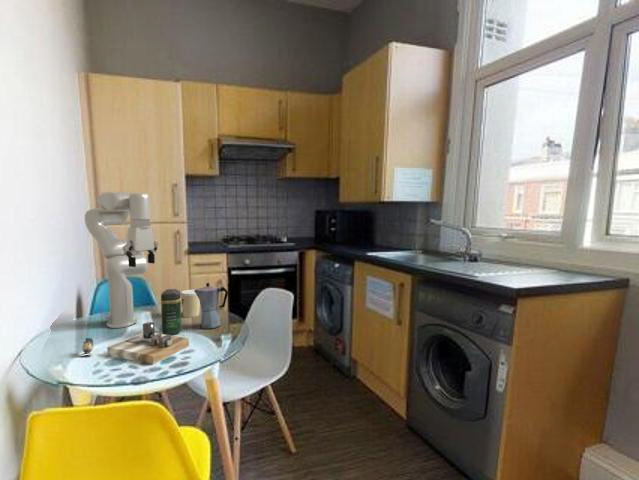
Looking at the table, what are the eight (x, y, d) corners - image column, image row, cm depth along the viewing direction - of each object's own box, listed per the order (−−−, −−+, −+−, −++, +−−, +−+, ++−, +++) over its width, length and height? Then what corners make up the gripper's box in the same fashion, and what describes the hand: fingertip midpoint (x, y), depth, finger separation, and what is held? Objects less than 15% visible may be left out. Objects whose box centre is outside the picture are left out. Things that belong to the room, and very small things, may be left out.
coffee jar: (181, 334, 155) (180, 292, 153) (161, 336, 153) (159, 293, 151) (182, 327, 164) (180, 287, 163) (163, 329, 162) (161, 288, 160)
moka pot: (197, 322, 171) (196, 281, 169) (230, 322, 172) (229, 280, 170) (191, 329, 161) (190, 285, 159) (227, 329, 163) (226, 285, 161)
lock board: (107, 355, 134) (106, 338, 133) (146, 338, 151) (146, 323, 150) (153, 364, 126) (152, 346, 126) (188, 345, 143) (188, 330, 142)
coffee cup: (184, 312, 187) (183, 289, 186) (202, 312, 188) (202, 289, 187) (179, 318, 178) (178, 294, 177) (198, 317, 179) (198, 293, 178)
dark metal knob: (138, 341, 137) (138, 324, 137) (147, 338, 141) (146, 321, 140) (166, 346, 133) (165, 328, 132) (174, 342, 136) (173, 325, 136)
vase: (83, 351, 137) (83, 336, 136) (98, 352, 138) (99, 336, 137) (75, 357, 132) (76, 341, 131) (92, 357, 132) (92, 341, 132)
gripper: (150, 222, 158) (151, 261, 160) (115, 224, 142) (117, 267, 144) (163, 222, 156) (164, 262, 157) (129, 224, 140) (131, 268, 141)
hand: (142, 264), depth 151 cm, fingers open, 9 cm apart
